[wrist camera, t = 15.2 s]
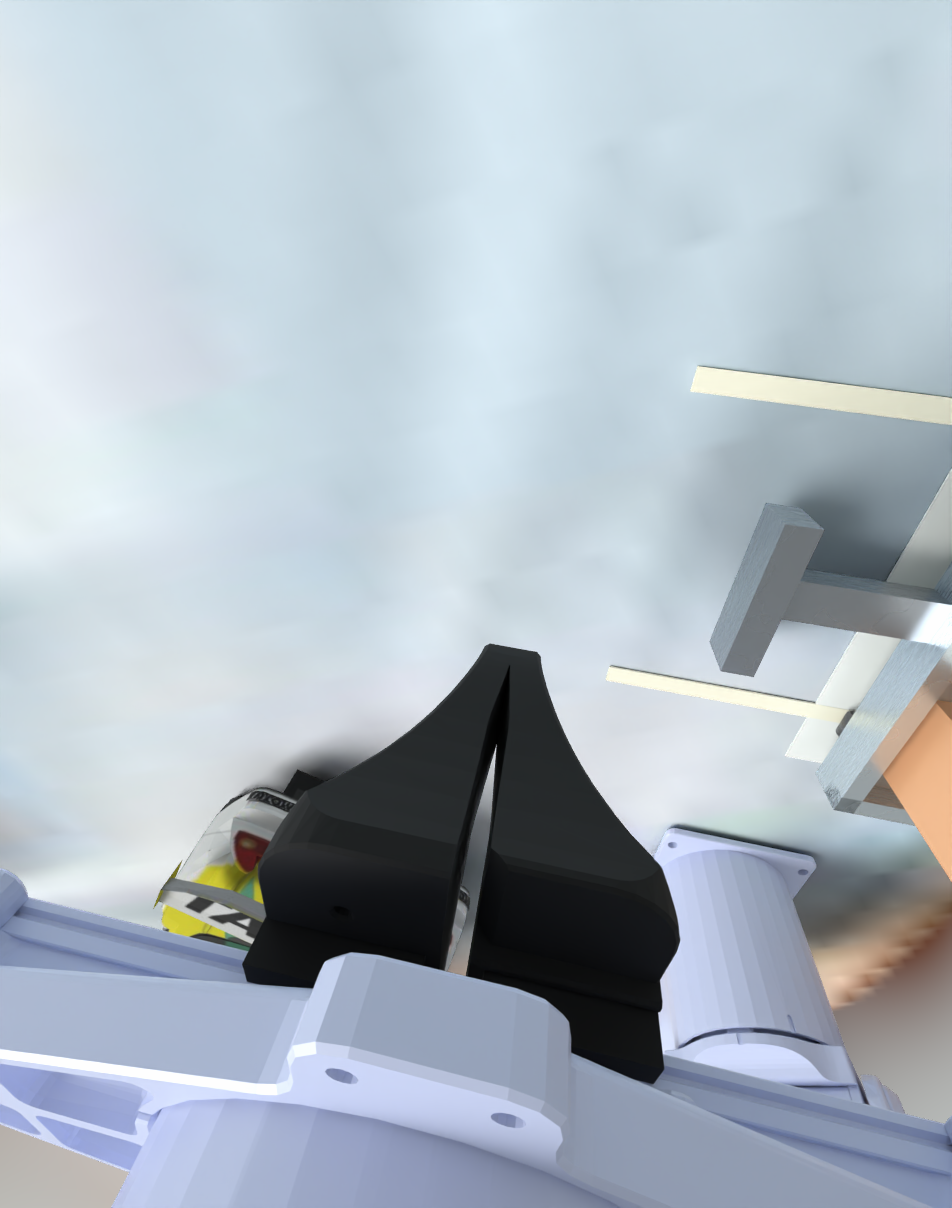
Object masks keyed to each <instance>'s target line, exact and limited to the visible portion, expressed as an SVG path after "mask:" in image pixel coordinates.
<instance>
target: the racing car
mask: <svg viewBox="0 0 952 1208" xmlns="http://www.w3.org/2000/svg"><path fill="white" fill-rule="evenodd" d="M322 783H324V781H322V780H320V779H318V778H316V777H313V776H311V775H309V774H307V773H304V772H302V771H300V770H298V769H297V771H296V773H295V774H294V776H293V778H292V779H291V781H290V783H289V784H288V786H287V788H286V789H285V791H284V793H280V792H277V791H275V790H272V789H269V788H256V789H254V790H253V791H251V792H249V793H248V794H246V795H245V796H243V797H239V796H238V797H235V798H233V799H231V800H230V801H229V802H228V804H226V805H225V806H224V808H223V809H222V810H221V811H220V813H218V814H217V815H216V817H215V818H214V820H213V821H212V823H211V824H210V826H209V827H208V829H207V830H206V832H205V833H204V834H203V836H202V837H201V839H200V840H199V842H198V843H197V845H196V846H195V848H194V850H193V851H192V853H191V854H190V856H189V858H188V859H187V861H186V862H185V864H184V866H183V867H182V869H181V870H180V872H179V874H178V875H177V872H178V870H179V867H180V865H181V863H182V861H181V863H180V864H179V865H178V867H177V868H176V869H175V871H174V872H173V874H172V875H171V876H170V878H169V879H168V881H167V882H166V883H165V885H164V886H163V887H162V889H161V890H160V893H159V895H158V898H157V900H156V903H155V906H156V904H157V903H158V902H162V903H163V905H162V911H163V917H162V926H163V931H167V932H171V933H175V934H179V935H183V936H187V937H192V938H196V939H200V940H204V941H208V942H212V943H216V944H220V945H224V946H228V947H232V948H236V949H240V950H244V951H249V949H250V947H251V945H252V943H253V941H254V939H255V937H256V935H257V933H258V931H259V929H260V927H261V925H262V923H263V921H264V919H265V917H266V913H265V909H264V904H263V899H262V894H261V889H260V885H259V880H258V864H259V862H260V860H261V858H262V856H263V854H264V852H265V851H266V849H267V847H268V845H269V843H270V841H271V840H272V838H273V836H274V834H275V832H276V830H277V829H278V827H279V826H280V824H281V822H282V821H283V820H284V818H285V817H286V816H287V814H288V813H289V812H290V810H291V809H292V807H293V806H294V805H295V804H296V802H297V801H298V800H299V799H300V797H301V796H302V795H303V794H304V792H305V791H307V790H309V789H312V788H314V787H316V786H318V785H320V784H322ZM176 875H177V877H176ZM175 877H176V878H175ZM469 905H470V898H469V891H468V890H467V889H466V888H465V887H464V886H462V885H461V888H460V893H459V898H458V904H457V909H456V914H455V919H454V925H453V930H452V935H451V940H450V946H449V951H448V956H447V961H446V967H445V971H446V972H447V971H448V968H449V966H450V963H451V961H452V958H453V955H454V952H455V950H456V947H457V944H458V941H459V938H460V936H461V933H462V930H463V927H464V923H465V920H466V914H467V908H468V910H469ZM155 906H154V907H155ZM153 909H154V908H153Z"/></svg>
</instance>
